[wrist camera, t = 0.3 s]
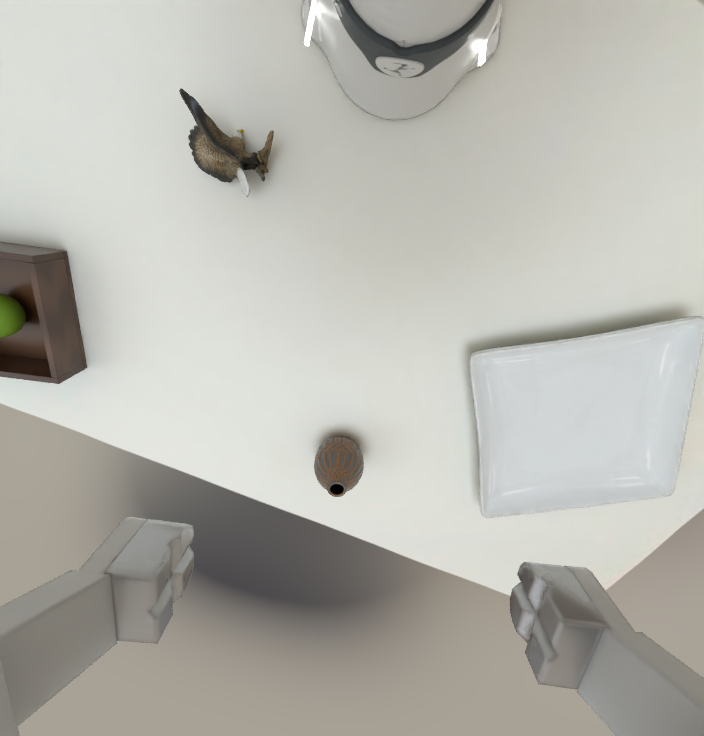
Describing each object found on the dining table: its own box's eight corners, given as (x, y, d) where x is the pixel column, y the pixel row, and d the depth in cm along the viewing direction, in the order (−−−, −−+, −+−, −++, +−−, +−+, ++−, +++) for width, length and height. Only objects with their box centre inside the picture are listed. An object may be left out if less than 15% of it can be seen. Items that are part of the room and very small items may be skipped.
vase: (318, 467, 57) (311, 510, 48) (315, 429, 54) (307, 468, 46) (363, 467, 56) (364, 510, 48) (363, 428, 54) (363, 467, 46)
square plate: (684, 306, 45) (711, 314, 42) (655, 480, 56) (675, 499, 52) (462, 344, 48) (470, 354, 44) (474, 503, 59) (482, 522, 55)
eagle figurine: (281, 111, 37) (187, 70, 35) (269, 148, 34) (163, 106, 31) (267, 178, 43) (187, 147, 41) (256, 216, 40) (167, 185, 37)
